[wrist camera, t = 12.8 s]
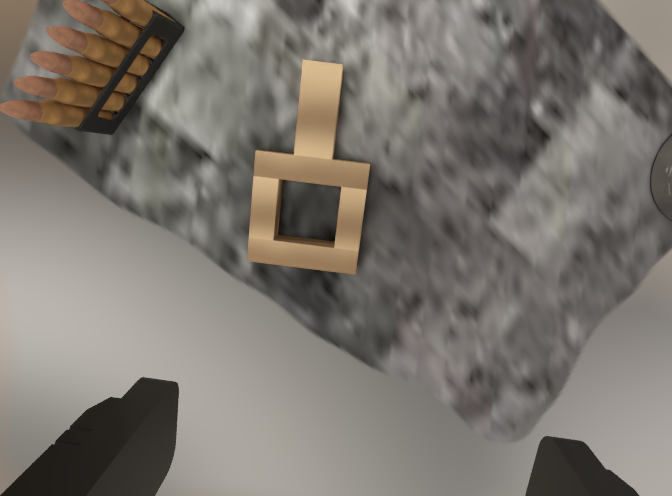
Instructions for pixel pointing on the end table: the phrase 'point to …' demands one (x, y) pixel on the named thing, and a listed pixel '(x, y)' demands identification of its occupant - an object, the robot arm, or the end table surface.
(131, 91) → the ammunition clip
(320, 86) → the oak link
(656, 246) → the end table surface
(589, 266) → the end table surface
